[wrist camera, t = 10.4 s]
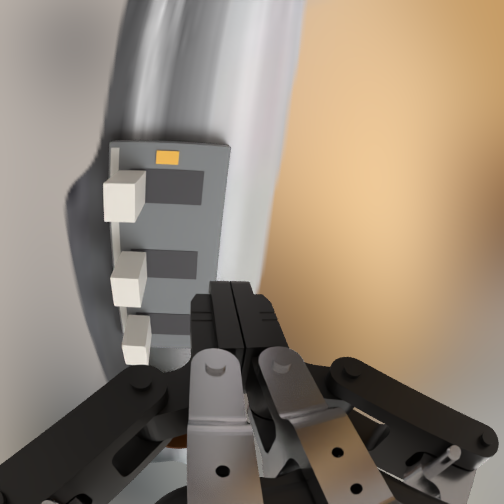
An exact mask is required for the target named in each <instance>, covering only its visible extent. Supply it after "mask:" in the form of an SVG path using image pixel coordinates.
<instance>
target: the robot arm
mask: <svg viewBox="0 0 504 504" xmlns="http://www.w3.org/2000/svg"><path fill="white" fill-rule="evenodd" d="M190 342H191V358H190V360H189V361H188V363H187V364H186V365H185V366H183V367H182V368H180V369H177V370H174V371H171V372H167V373H162V372H161V371H160V370H158V369H157V368H155V367H152V366H149V365H133V366H130V367H128V368H126V369H125V370H123V371H122V372H121V373H119V374H118V375H117V376H116V377H114V378H113V379H112V380H110V381H109V382H108V383H107V384H106V385H104V386H103V387H102V388H100V389H99V390H98V391H97V392H95V393H94V394H93V395H91V396H90V397H89V398H87V399H86V400H85V401H84V402H82V403H81V404H80V405H78V406H77V407H76V408H75V409H73V410H72V411H71V412H69V413H68V414H67V415H65V417H63V418H62V419H60V420H59V421H58V422H56V423H55V424H54V425H52V426H51V427H50V428H49V429H47V430H46V431H45V432H43V433H42V434H41V435H40V436H38V437H37V438H35V439H34V440H33V441H31V442H30V443H29V444H27V445H26V446H25V447H24V448H22V449H21V450H20V451H18V452H17V453H16V454H14V455H13V456H12V457H10V458H9V459H8V460H6V461H5V462H4V463H2V464H1V465H0V504H108V503H109V502H110V501H111V500H112V499H113V498H114V497H115V496H117V495H118V494H119V493H120V492H121V491H122V490H123V489H124V488H125V487H126V486H127V485H128V484H129V483H130V482H131V481H132V480H133V479H134V478H135V477H136V476H137V475H138V474H139V473H140V472H141V471H142V470H143V469H144V468H145V467H146V466H147V465H148V464H149V463H150V462H151V461H152V460H153V459H154V458H155V457H156V456H157V455H158V454H159V453H160V452H161V451H162V450H163V449H164V448H165V447H166V445H167V444H168V443H169V442H170V441H171V440H172V438H174V437H177V436H181V435H184V434H187V486H184V487H181V488H178V489H176V490H174V491H172V492H170V493H168V494H166V495H165V496H163V497H162V498H161V499H160V500H158V501H157V502H156V503H155V504H467V501H468V498H469V494H470V491H471V488H472V484H473V481H474V477H475V473H476V470H477V468H478V467H479V466H481V465H482V464H483V463H485V462H486V461H487V460H488V459H490V458H491V457H492V456H493V455H494V454H495V453H496V452H497V450H498V445H499V442H498V437H497V435H496V433H495V432H494V430H493V429H492V428H490V427H489V426H487V425H485V424H483V423H481V422H479V421H477V420H474V419H472V418H470V417H468V416H466V415H464V414H462V413H460V412H457V411H456V410H454V409H452V408H449V407H447V406H446V405H443V404H442V403H440V402H437V401H435V400H434V399H431V398H430V397H427V396H426V395H423V394H422V393H420V392H418V391H416V390H414V389H412V388H410V387H408V386H406V385H404V384H402V383H400V382H398V381H397V380H395V379H393V378H391V377H389V376H387V375H386V374H383V373H382V372H380V371H378V370H376V369H374V368H373V367H371V366H368V365H367V364H365V363H363V362H362V361H360V360H357V359H355V358H351V357H342V358H338V359H336V360H335V361H334V362H333V363H332V365H331V367H326V366H318V365H313V364H308V363H305V362H304V361H303V359H302V358H301V356H300V355H299V354H298V353H297V352H295V351H294V350H292V349H289V347H288V344H287V342H286V339H285V337H284V334H283V332H282V329H281V327H280V324H279V322H278V321H277V317H276V314H275V313H274V309H273V307H272V304H271V302H270V301H269V300H268V299H267V298H266V297H264V296H263V295H262V294H253V291H252V288H251V285H250V282H245V281H230V282H229V281H210V282H209V293H208V294H195V296H194V297H193V299H192V300H191V305H190ZM245 393H247V397H248V401H249V402H248V406H247V414H248V417H249V420H250V423H251V424H250V423H248V422H247V419H246V412H245V404H244V396H243V394H245ZM354 407H356V408H357V409H359V410H361V411H363V412H365V413H367V414H368V415H370V416H372V417H373V418H375V419H377V420H379V421H381V422H383V423H385V424H379V423H376V422H375V421H373V420H371V419H369V418H367V417H365V416H364V415H362V414H360V413H358V412H357V411H355V410H353V408H354ZM252 429H253V430H252ZM253 432H254V435H255V438H256V441H257V444H258V447H259V450H260V453H261V457H262V470H263V475H264V477H259V472H258V464H257V457H256V450H255V444H254V436H253ZM377 467H379V468H380V469H383V470H385V471H386V472H389V473H391V474H393V475H395V476H397V477H399V478H401V479H403V480H404V481H403V482H401V481H400V480H398V479H396V478H394V477H392V476H390V475H388V474H386V473H385V472H383V471H380V470H379V469H378V468H377Z"/></svg>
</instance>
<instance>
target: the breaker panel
mask: <svg viewBox="0 0 504 504" xmlns="http://www.w3.org/2000/svg"><path fill="white" fill-rule="evenodd" d="M230 151H231V147H230V146H229V145H222V144H211V143H197V142H181V141H156V140H114V141H112V142H110V143H109V178H110V177H112V176H113V175H114V174H115V173H117V172H118V171H119V170H137V171H146V186H145V204H144V206H143V208H142V210H141V212H140V214H139V216H138V217H137V219H136V221H135V223H132V222H110V238H111V251H112V262H113V270H114V268H115V265H116V263H117V261H118V259H119V257H120V254H121V252H122V251H132V252H146V263H147V281H146V285H145V290H144V294H143V299H142V304H141V308H139V307H123V306H118V309H119V315H120V321H121V327H122V333H123V336H124V332H125V327H126V323H127V319H128V315H144V316H150V324H151V334H152V336H151V345H150V347H161V348H191V342H190V305H191V300H192V299H193V297H194V296H195V294H208V293H209V282H210V281H216V277H217V266H218V256H219V246H220V236H221V227H222V218H223V209H224V200H225V191H226V183H227V175H228V166H229V159H230Z"/></svg>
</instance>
